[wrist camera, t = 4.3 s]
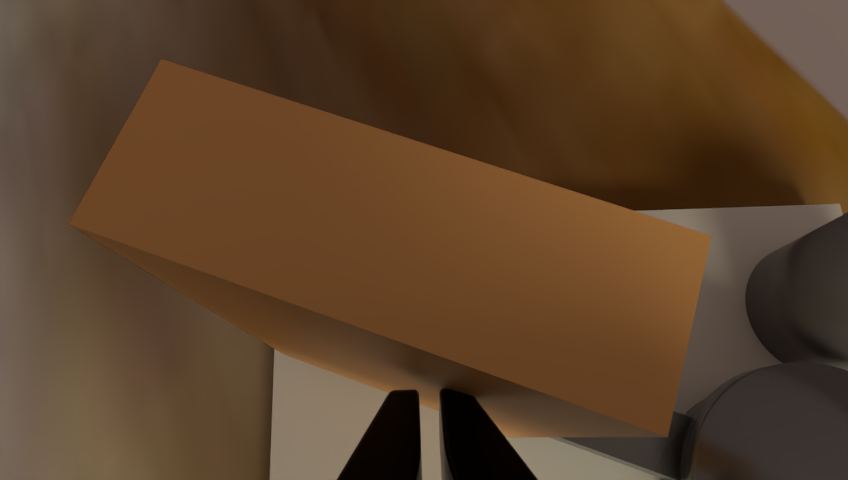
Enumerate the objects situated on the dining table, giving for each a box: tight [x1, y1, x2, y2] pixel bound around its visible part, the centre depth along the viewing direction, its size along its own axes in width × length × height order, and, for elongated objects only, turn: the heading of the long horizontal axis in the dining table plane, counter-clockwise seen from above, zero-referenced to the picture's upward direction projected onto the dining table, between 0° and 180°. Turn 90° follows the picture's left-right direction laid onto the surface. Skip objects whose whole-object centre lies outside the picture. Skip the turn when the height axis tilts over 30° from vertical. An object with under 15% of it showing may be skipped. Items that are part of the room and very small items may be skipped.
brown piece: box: [69, 59, 848, 480], centre depth 11 cm, size 15×5×10 cm, turn 71°
